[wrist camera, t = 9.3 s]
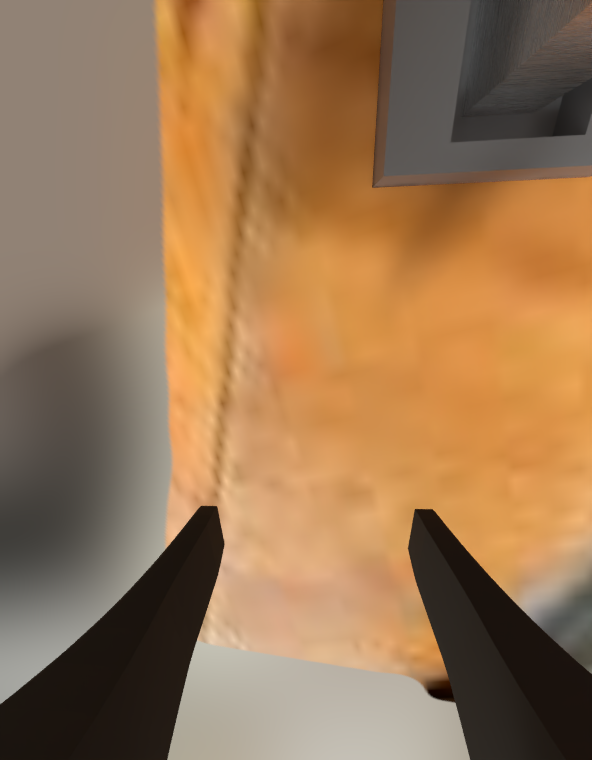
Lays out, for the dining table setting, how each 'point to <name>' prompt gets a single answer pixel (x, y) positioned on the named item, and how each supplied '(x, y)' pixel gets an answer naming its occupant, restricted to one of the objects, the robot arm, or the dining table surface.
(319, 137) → the dining table surface
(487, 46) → the long block
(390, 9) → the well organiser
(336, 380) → the dining table surface
